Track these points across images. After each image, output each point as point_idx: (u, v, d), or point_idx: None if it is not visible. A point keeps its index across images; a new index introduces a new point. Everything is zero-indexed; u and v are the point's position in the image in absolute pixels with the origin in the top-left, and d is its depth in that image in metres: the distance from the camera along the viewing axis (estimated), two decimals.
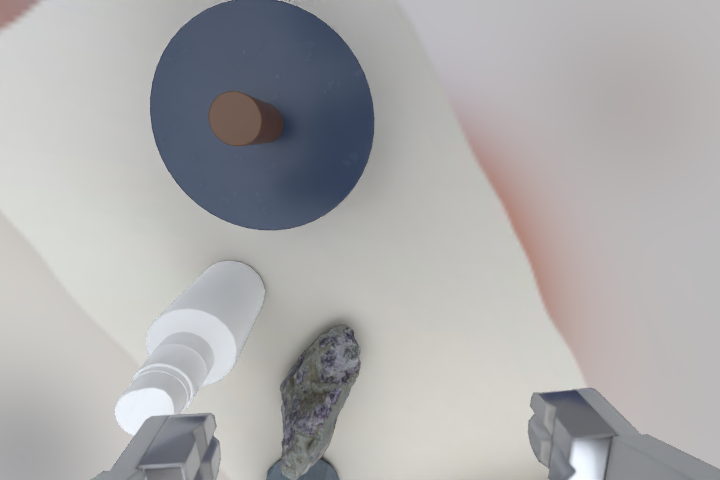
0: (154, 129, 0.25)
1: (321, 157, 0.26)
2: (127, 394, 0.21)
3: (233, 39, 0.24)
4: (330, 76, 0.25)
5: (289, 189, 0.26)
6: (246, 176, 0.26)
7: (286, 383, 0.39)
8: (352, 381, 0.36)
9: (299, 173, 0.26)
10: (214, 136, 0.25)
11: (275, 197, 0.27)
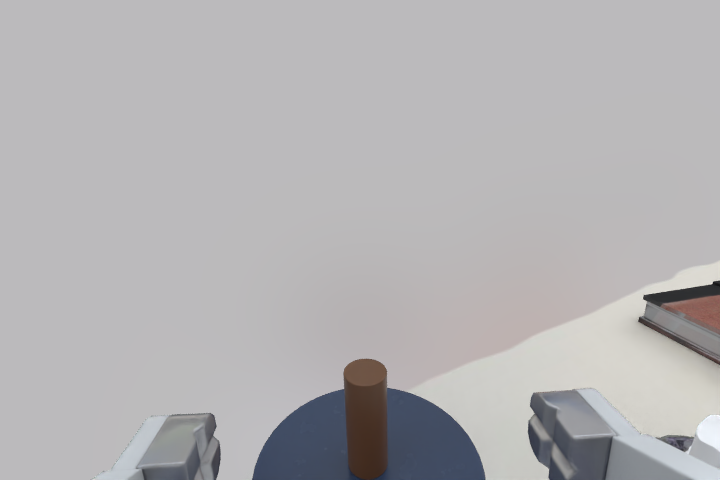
0: None
1: (398, 418, 0.28)
2: None
3: None
4: (330, 411, 0.29)
5: (432, 443, 0.26)
6: None
7: None
8: None
9: (414, 434, 0.27)
10: None
11: (443, 455, 0.25)
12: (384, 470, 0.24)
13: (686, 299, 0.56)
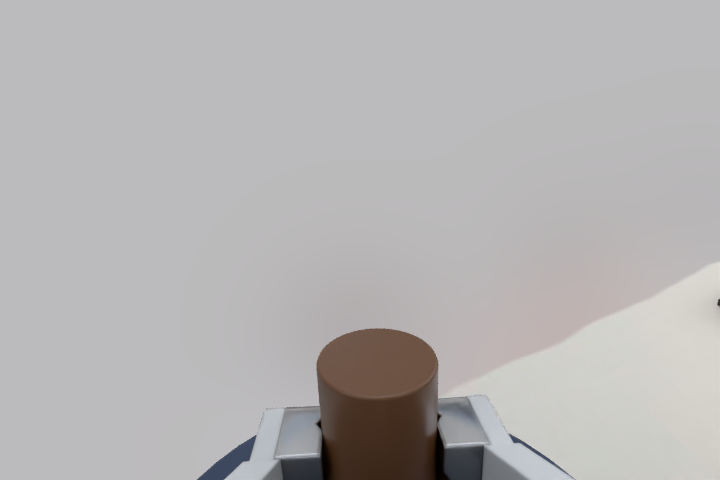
0: None
1: None
2: None
3: None
4: None
5: None
6: None
7: None
8: None
9: None
10: None
11: None
12: None
13: None
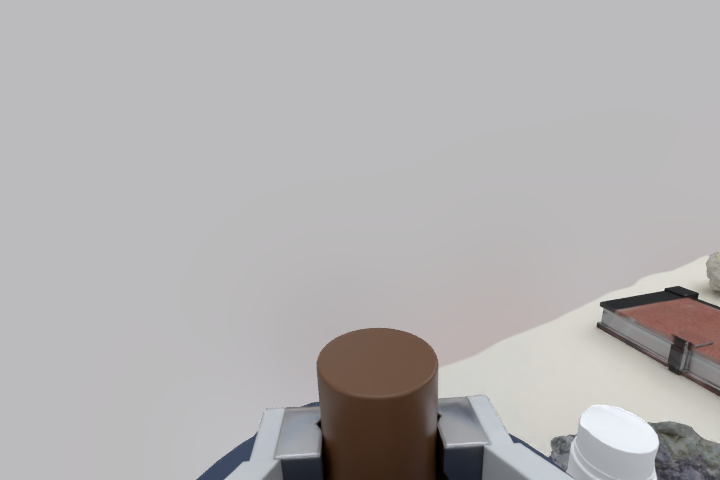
0: None
1: None
2: (599, 439, 0.19)
3: None
4: None
5: None
6: None
7: None
8: None
9: None
10: None
11: None
12: None
13: (638, 305, 0.61)
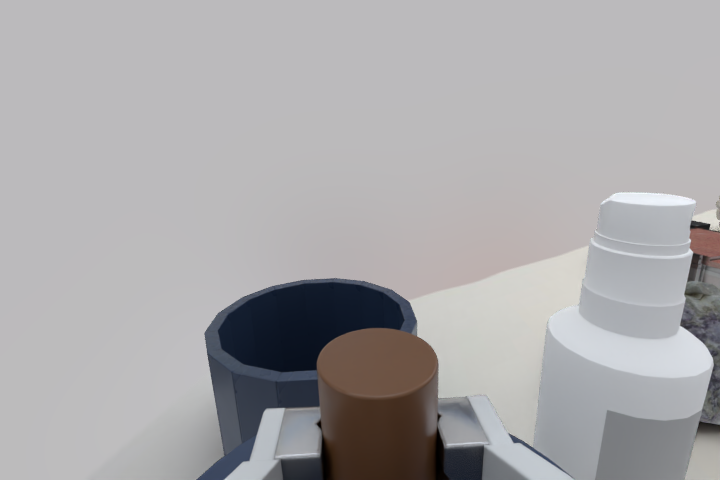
0: None
1: None
2: (626, 202, 0.16)
3: None
4: None
5: None
6: None
7: None
8: None
9: None
10: None
11: None
12: None
13: None
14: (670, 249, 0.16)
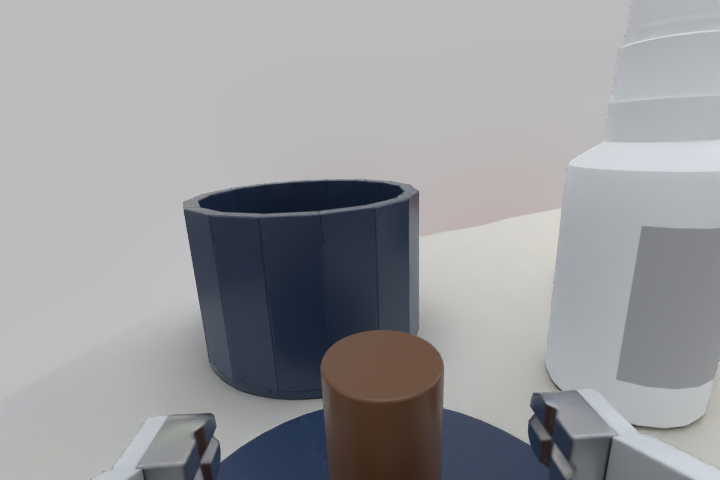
0: None
1: (443, 467, 0.14)
2: None
3: None
4: (302, 455, 0.14)
5: None
6: None
7: None
8: None
9: None
10: None
11: None
12: None
13: None
14: (718, 21, 0.13)
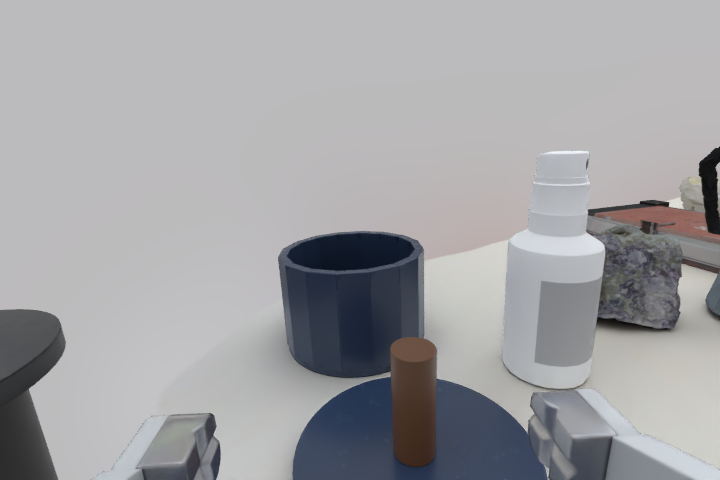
0: None
1: (439, 405, 0.27)
2: (548, 154, 0.27)
3: (330, 474, 0.22)
4: (365, 401, 0.27)
5: (479, 428, 0.24)
6: (479, 466, 0.22)
7: (611, 299, 0.37)
8: None
9: (459, 420, 0.25)
10: None
11: (493, 440, 0.23)
12: (434, 457, 0.22)
13: (614, 210, 0.69)
14: (574, 180, 0.27)
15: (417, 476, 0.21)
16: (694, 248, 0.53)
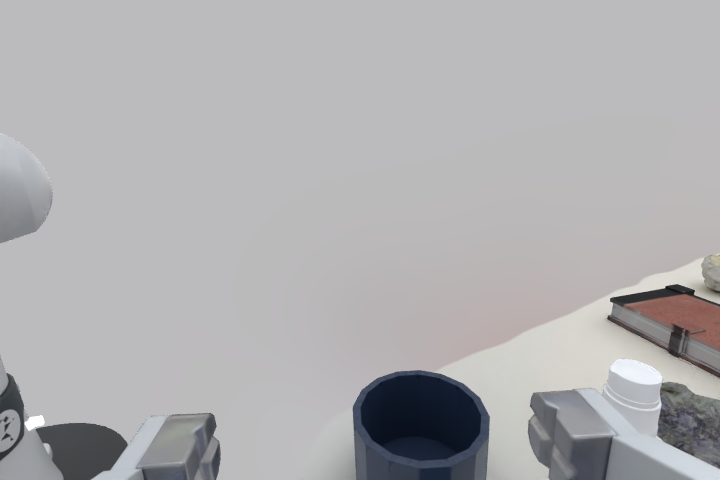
0: None
1: None
2: (624, 377, 0.29)
3: None
4: None
5: None
6: None
7: None
8: None
9: None
10: None
11: None
12: None
13: (643, 300, 0.71)
14: (648, 405, 0.29)
15: None
16: None
